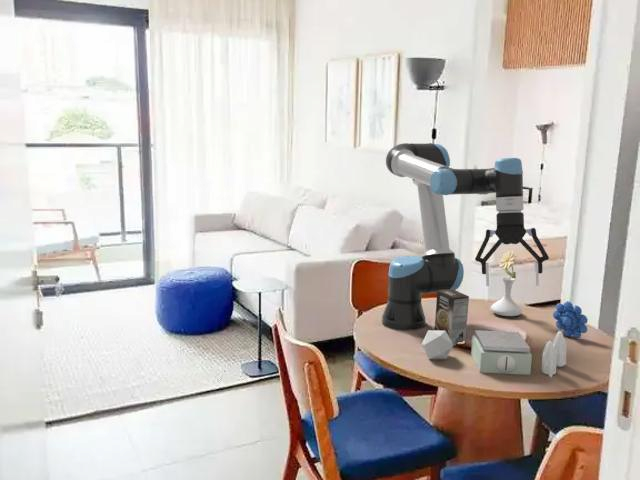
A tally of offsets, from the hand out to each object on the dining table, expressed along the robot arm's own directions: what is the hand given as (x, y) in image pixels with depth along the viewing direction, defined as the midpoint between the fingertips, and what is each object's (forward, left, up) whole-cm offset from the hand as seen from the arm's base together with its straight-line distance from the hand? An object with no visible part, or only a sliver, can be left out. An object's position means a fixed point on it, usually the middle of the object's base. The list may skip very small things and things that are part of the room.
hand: (512, 285), depth 172 cm
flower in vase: (-46, +11, -24) cm, 53 cm away
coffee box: (-16, -14, -24) cm, 32 cm away
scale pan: (+2, -2, -17) cm, 17 cm away
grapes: (-24, +26, -24) cm, 43 cm away
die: (-1, -20, -24) cm, 31 cm away
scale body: (+2, -2, -24) cm, 24 cm away
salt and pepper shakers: (+4, +13, -24) cm, 27 cm away
